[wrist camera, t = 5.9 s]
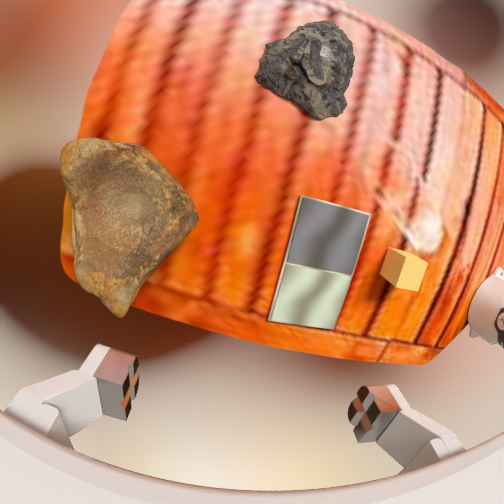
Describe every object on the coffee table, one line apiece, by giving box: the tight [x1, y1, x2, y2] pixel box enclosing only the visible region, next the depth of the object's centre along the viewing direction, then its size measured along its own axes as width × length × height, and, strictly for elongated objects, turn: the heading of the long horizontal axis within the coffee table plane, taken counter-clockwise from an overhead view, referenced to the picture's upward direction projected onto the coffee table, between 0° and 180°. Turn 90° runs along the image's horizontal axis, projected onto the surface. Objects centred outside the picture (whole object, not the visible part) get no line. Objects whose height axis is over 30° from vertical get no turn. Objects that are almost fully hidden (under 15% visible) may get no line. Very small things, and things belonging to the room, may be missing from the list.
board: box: [268, 195, 371, 329], centre depth 44 cm, size 12×21×1 cm, turn 168°
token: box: [380, 247, 428, 291], centre depth 42 cm, size 5×5×6 cm
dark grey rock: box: [255, 21, 355, 120], centre depth 34 cm, size 19×4×15 cm
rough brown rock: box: [60, 138, 199, 318], centre depth 34 cm, size 23×17×15 cm
